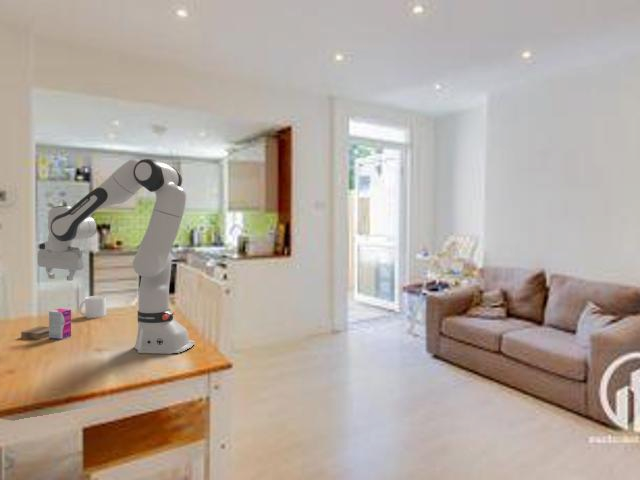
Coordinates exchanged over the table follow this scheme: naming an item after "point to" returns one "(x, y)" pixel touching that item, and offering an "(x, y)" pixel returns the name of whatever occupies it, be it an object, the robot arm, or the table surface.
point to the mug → (94, 307)
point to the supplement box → (59, 324)
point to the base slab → (36, 333)
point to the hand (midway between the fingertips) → (60, 279)
